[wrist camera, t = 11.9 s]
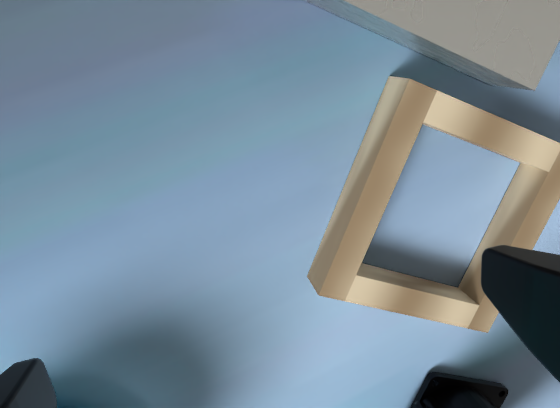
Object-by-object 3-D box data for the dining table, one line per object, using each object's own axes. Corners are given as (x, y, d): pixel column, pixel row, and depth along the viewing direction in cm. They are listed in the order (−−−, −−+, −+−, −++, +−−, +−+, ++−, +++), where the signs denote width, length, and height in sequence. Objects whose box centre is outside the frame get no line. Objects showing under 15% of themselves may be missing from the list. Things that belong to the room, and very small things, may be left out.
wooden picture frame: (553, 145, 25) (583, 153, 23) (466, 313, 28) (487, 332, 26) (389, 75, 21) (410, 78, 20) (307, 276, 24) (318, 295, 22)
